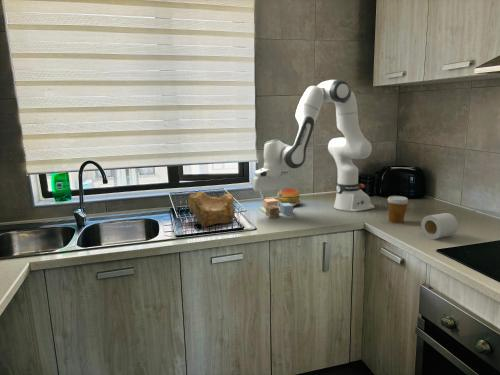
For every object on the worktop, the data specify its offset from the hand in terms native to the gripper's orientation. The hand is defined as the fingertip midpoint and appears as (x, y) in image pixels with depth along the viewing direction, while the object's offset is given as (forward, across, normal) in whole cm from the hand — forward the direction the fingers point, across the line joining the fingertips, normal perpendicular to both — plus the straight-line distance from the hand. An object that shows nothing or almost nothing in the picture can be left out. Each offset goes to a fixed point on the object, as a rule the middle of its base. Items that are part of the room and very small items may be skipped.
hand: (271, 197), depth 190 cm
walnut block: (+10, 0, 0) cm, 10 cm away
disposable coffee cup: (+9, -53, +31) cm, 62 cm away
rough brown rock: (+11, +32, +1) cm, 34 cm away
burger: (+10, -18, -18) cm, 27 cm away
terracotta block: (+9, -4, -10) cm, 14 cm away
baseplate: (+10, -4, -10) cm, 15 cm away
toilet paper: (+10, -55, +55) cm, 79 cm away
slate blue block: (+10, -10, -2) cm, 14 cm away
